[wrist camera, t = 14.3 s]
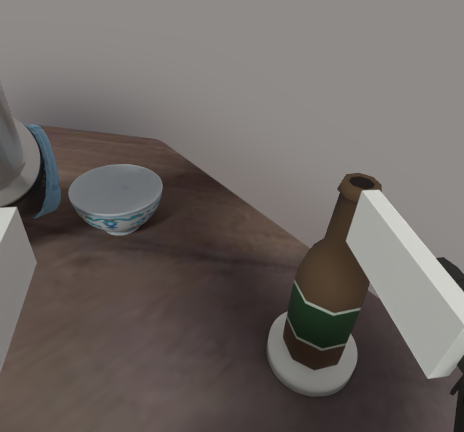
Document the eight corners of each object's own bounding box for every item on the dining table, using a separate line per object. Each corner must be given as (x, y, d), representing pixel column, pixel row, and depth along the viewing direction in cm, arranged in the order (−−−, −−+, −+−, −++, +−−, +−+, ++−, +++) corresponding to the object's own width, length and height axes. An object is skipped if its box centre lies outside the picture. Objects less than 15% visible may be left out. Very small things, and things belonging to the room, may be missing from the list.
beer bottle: (314, 385, 43) (373, 220, 28) (268, 337, 48) (298, 174, 33) (357, 349, 47) (428, 188, 32) (310, 308, 52) (354, 150, 37)
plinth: (248, 347, 49) (250, 336, 48) (305, 306, 55) (308, 295, 54) (313, 416, 43) (317, 405, 41) (369, 362, 49) (375, 351, 47)
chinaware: (91, 264, 60) (82, 226, 55) (67, 212, 69) (58, 176, 65) (178, 234, 66) (177, 198, 62) (145, 191, 76) (142, 157, 71)
